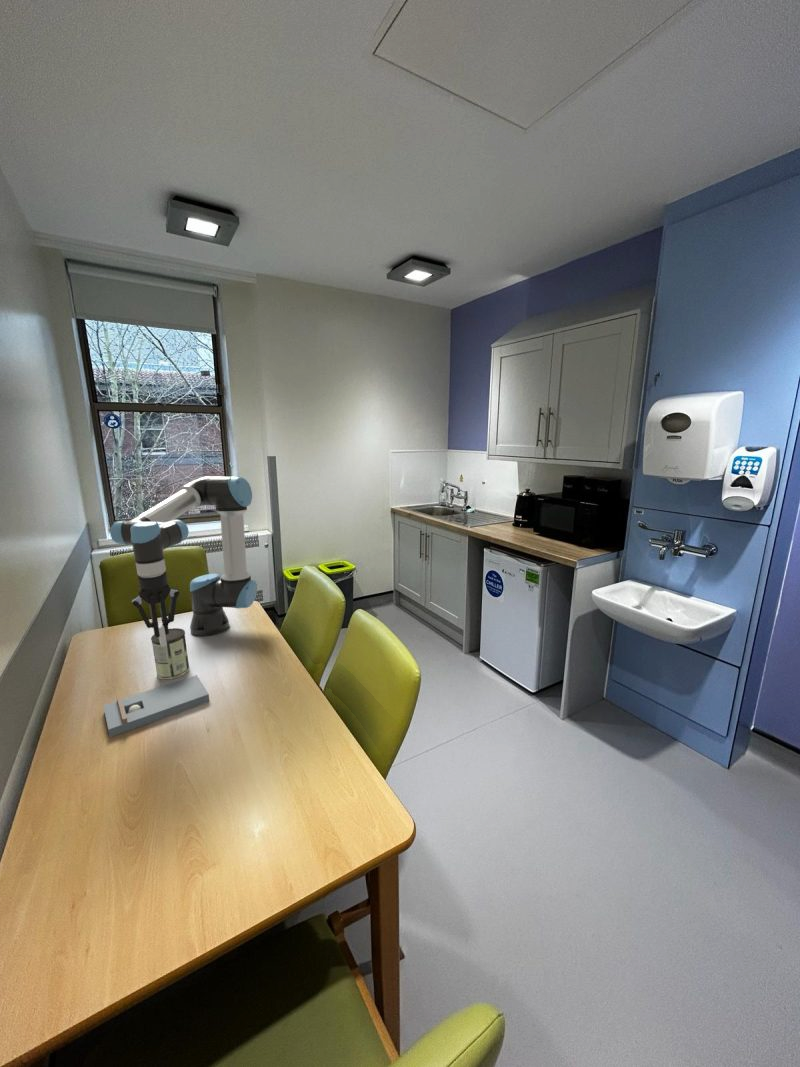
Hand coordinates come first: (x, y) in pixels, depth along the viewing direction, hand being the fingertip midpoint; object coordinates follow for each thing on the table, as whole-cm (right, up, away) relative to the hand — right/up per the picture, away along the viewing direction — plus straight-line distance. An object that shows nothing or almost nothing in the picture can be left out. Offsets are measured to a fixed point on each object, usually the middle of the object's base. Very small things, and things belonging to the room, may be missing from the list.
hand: (163, 644), depth 134 cm
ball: (-4, -17, -8) cm, 20 cm away
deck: (0, -18, -4) cm, 18 cm away
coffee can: (-5, -14, +16) cm, 21 cm away
